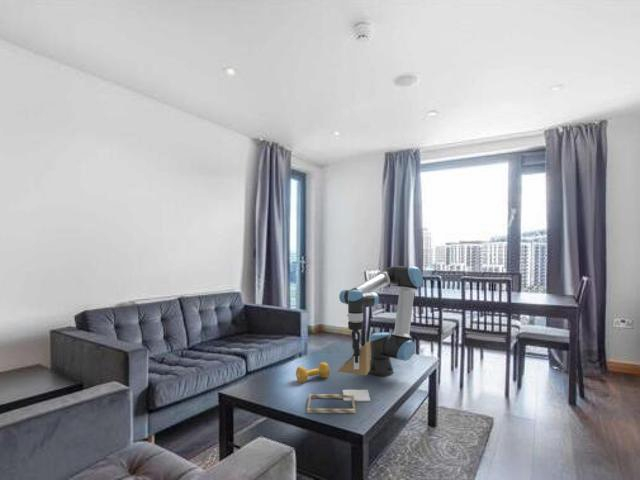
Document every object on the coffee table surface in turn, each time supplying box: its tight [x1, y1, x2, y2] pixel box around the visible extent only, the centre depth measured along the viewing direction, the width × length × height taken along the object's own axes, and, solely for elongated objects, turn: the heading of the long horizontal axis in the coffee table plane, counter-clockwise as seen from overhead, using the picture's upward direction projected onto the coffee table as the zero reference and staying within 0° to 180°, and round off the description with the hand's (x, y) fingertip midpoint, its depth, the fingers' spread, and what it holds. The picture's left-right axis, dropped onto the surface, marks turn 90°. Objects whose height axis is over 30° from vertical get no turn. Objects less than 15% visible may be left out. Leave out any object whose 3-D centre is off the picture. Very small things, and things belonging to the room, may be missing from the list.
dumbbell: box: [295, 361, 330, 384], centre depth 207 cm, size 19×9×8 cm, turn 120°
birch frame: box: [306, 393, 357, 414], centre depth 173 cm, size 22×17×2 cm
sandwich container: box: [337, 340, 371, 376], centre depth 184 cm, size 9×15×15 cm, turn 68°
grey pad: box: [342, 389, 371, 403], centre depth 183 cm, size 13×13×1 cm
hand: (355, 365), depth 183 cm, fingers closed on sandwich container, 9 cm apart
